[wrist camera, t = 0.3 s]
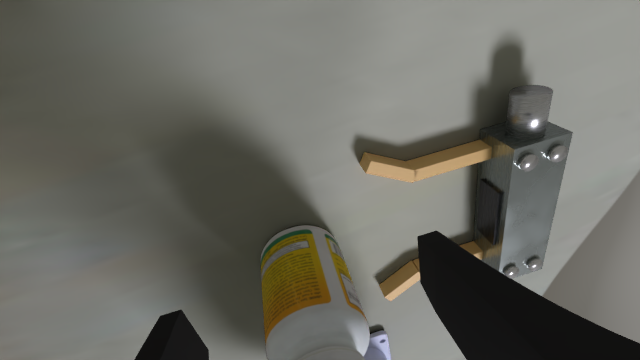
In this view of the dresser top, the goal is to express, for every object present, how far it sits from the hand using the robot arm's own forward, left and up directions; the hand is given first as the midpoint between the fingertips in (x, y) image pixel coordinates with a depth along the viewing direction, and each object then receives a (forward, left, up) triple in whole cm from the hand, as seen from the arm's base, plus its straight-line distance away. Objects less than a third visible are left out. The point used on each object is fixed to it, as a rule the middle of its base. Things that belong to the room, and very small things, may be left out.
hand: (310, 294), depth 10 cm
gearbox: (-6, -14, -10) cm, 18 cm away
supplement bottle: (-8, +1, -10) cm, 13 cm away
